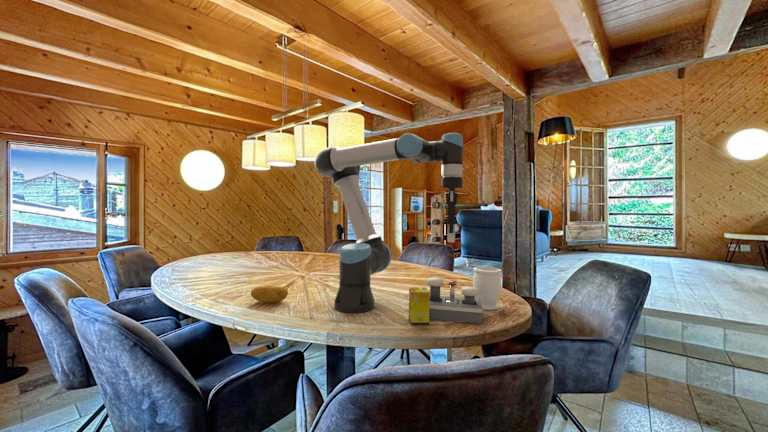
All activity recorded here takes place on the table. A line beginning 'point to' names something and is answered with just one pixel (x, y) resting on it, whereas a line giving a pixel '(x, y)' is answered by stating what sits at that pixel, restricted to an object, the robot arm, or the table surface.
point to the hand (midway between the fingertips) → (451, 241)
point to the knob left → (435, 287)
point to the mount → (455, 310)
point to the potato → (269, 294)
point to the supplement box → (419, 305)
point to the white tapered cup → (487, 286)
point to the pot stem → (452, 292)
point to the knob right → (469, 294)
